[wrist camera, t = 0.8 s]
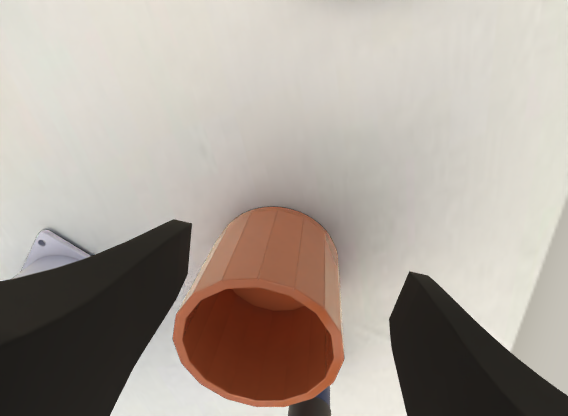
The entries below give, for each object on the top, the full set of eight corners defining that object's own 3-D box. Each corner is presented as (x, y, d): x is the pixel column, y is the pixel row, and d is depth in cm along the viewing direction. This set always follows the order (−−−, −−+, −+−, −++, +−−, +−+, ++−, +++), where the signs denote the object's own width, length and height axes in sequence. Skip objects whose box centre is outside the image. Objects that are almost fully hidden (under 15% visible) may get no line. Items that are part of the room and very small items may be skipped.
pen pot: (288, 328, 26) (275, 428, 19) (194, 267, 25) (145, 352, 18) (364, 255, 23) (381, 346, 16) (261, 181, 21) (231, 245, 15)
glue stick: (315, 372, 28) (312, 460, 22) (287, 354, 27) (276, 440, 21) (337, 353, 27) (340, 441, 21) (309, 335, 26) (304, 419, 20)
